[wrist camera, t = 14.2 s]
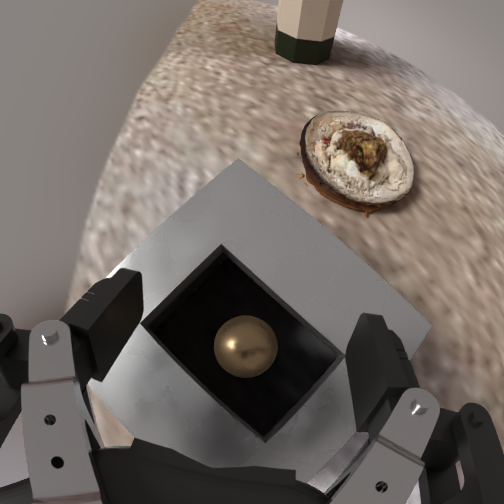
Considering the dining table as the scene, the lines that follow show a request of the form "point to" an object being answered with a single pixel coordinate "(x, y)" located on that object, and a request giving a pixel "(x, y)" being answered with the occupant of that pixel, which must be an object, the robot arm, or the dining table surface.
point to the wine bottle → (306, 29)
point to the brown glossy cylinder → (245, 346)
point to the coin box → (276, 285)
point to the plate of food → (356, 160)
